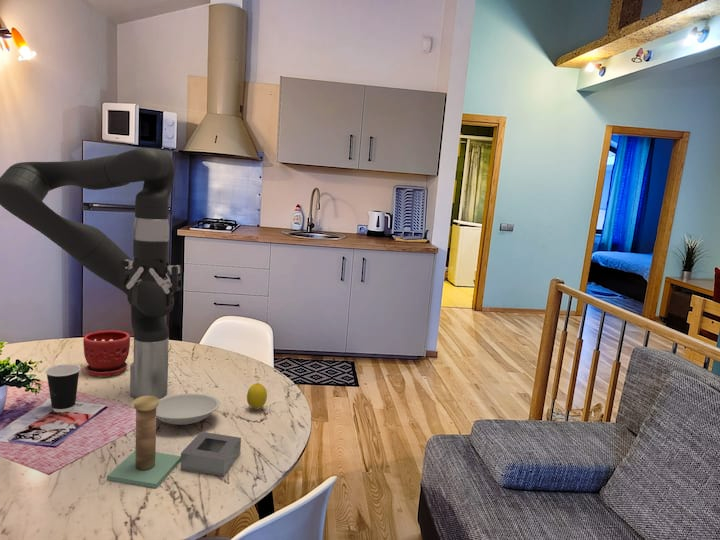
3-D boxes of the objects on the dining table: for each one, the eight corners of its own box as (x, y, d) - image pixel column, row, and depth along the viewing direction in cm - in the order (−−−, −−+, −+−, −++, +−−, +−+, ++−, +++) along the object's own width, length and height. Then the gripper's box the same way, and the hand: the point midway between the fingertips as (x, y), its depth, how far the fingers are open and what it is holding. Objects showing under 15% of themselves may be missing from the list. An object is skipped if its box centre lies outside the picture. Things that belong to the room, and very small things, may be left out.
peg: (128, 469, 108) (129, 403, 105) (141, 458, 113) (142, 394, 110) (149, 473, 108) (150, 406, 105) (161, 461, 112) (162, 397, 110)
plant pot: (138, 371, 162) (138, 335, 160) (98, 383, 151) (98, 344, 149) (114, 360, 169) (114, 326, 167) (74, 371, 158) (74, 334, 156)
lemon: (261, 415, 140) (263, 388, 139) (243, 411, 141) (244, 385, 140) (269, 407, 145) (270, 380, 144) (251, 403, 146) (252, 377, 145)
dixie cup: (86, 403, 138) (86, 364, 136) (70, 416, 130) (70, 376, 128) (56, 401, 138) (56, 362, 136) (39, 414, 130) (38, 373, 128)
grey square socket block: (180, 469, 111) (180, 453, 111) (200, 446, 121) (201, 431, 121) (223, 476, 110) (224, 459, 110) (240, 453, 120) (241, 437, 119)
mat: (106, 480, 106) (106, 475, 105) (136, 453, 116) (136, 449, 116) (156, 488, 104) (156, 484, 104) (181, 460, 115) (181, 456, 115)
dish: (149, 441, 122) (149, 421, 121) (147, 414, 135) (147, 396, 134) (223, 431, 129) (224, 413, 129) (214, 407, 142) (215, 390, 141)
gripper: (112, 236, 113) (112, 306, 115) (172, 242, 111) (171, 313, 114) (131, 233, 120) (131, 299, 123) (188, 239, 118) (186, 306, 121)
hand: (150, 306), depth 118 cm, fingers open, 8 cm apart
